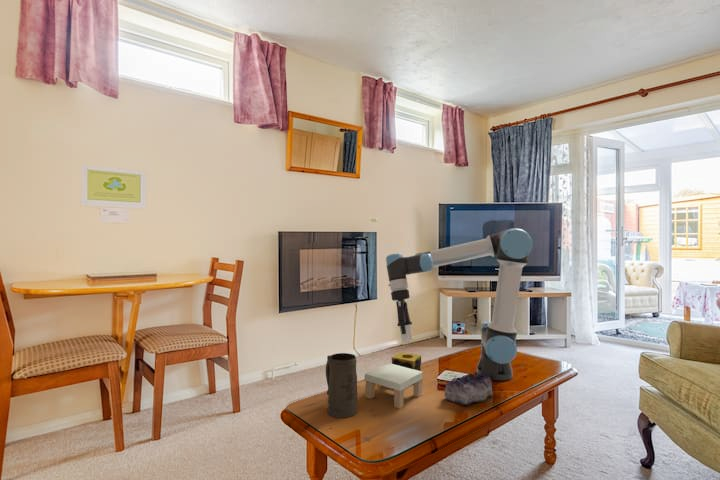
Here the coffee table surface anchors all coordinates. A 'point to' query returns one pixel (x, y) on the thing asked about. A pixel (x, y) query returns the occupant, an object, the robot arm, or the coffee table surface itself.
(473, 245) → the robot arm
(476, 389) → the geode
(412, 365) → the candle
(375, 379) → the footstool
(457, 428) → the coffee table surface
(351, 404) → the beer stein
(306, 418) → the coffee table surface
